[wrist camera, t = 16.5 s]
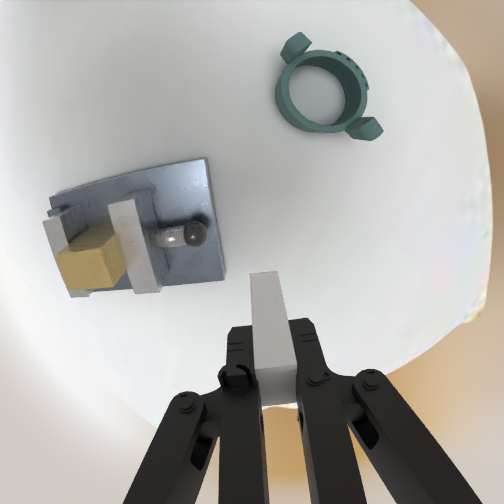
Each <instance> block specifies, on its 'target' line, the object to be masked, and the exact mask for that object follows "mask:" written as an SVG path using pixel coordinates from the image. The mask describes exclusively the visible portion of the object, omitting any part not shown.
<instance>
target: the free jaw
mask: <svg viewBox="0 0 504 504" xmlns="http://www.w3.org/2000/svg"><path fill="white" fill-rule="evenodd" d="M108 209H109V213H110V217H111V221H112V225H113V228H114V232H115V235H116V239H117V242H118V245H119V249H120V252H121V255H122V258H123V261H124V264H125V267H126V270H127V273H128V276H129V279H130V282H131V285H132V287H133V290H134V293H135V294H143V293H156V292H160V291H161V288H162V286H163V284H164V282H165V280H166V278H167V276H168V273H169V268H168V264H167V260H166V257H165V253H164V249H163V248H169V247H177V246H185V245H188V246H190V247H198V246H201V245H202V244H203V243H204V242H205V241H206V238H207V230H206V228H205V226H204V225H203V224H202V223H200V222H197V221H192V222H189V223H187V224H186V225H184V226H177V227H171V228H164V229H158V225H157V220H156V216H155V212H154V207H153V203H152V198H151V193H150V189H145V190H140V191H136V192H131V193H126V194H124V195H122V196H121V197H119V198H118V199H116V200H114V201H113V202H111V203H110V204H108Z"/></svg>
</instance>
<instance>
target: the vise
mask: <svg viewBox="0 0 504 504" xmlns="http://www.w3.org/2000/svg"><path fill="white" fill-rule="evenodd" d="M145 189H150V193H151V198H152V203H153V207H154V212H155V216H156V220H157V225H158V229H164V228H171V227H177V226H184V225H186V224H187V223H189V222H192V221H197V222H200V223H202V224H203V225H204V226H205V228H206V230H207V238H206V241H205V242H204V243H203V244H202V245H201V246H198V247H190V246H188V245H185V246H177V247H169V248H163V249H164V253H165V257H166V260H167V264H168V268H169V273H168V276H167V278H166V280H165V282H164V284H163V286H171V285H181V284H192V283H202V282H212V281H222V280H225V266H224V261H223V255H222V249H221V244H220V238H219V232H218V226H217V220H216V214H215V208H214V202H213V195H212V189H211V183H210V176H209V170H208V163H207V158H202V159H196V160H190V161H185V162H179V163H174V164H169V165H164V166H159V167H154V168H149V169H145V170H140V171H136V172H132V173H128V174H124V175H120V176H116V177H112V178H108V179H104V180H101V181H97V182H93V183H90V184H87V185H83V186H80V187H77V188H73V189H70V190H67V191H64V192H61V193H58V194H56V195H53V196H51V197H49V200H50V204H51V207H52V209H50V210H49V211H47V213H48V216H49V218H47V219H46V220H44V221H42V222H43V225H44V228H45V231H46V235H47V238H48V241H49V244H50V247H51V249H52V252H53V255H54V258H55V255H56V254H57V253H58V252H60V251H61V250H62V249H63V248H64V247H66V246H67V245H68V244H69V243H71V242H72V241H73V240H74V239H76V238H77V237H78V236H79V235H81V234H82V233H83V232H84V231H86V230H87V229H88V228H90V227H92V226H97V225H102V224H107V223H112V221H111V217H110V213H109V209H108V204H110V203H111V202H113V201H114V200H116V199H118V198H119V197H121V196H122V195H124V194H126V193H131V192H136V191H140V190H145ZM55 260H56V258H55ZM56 263H57V261H56ZM57 266H58V263H57ZM58 268H59V266H58ZM59 271H60V268H59ZM60 273H61V271H60ZM61 276H62V273H61ZM62 278H63V276H62ZM63 281H64V278H63ZM64 283H65V281H64ZM65 285H66V283H65ZM66 288H67V285H66ZM123 289H133V287H132V285H131V282H130V279H129V276H128V273H127V270H126V271H125V272H124V274H123V275H122V276H121V278H120V279H119V281H118V282H117V283H116V285H115V286H114V287H110V288H97V289H83V290H68V288H67V290H68V292H69V294H70V297H71V298H73V297H89V295H90V294H91V293H92V292H96V291H110V290H123Z"/></svg>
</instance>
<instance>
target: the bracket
mask: <svg viewBox="0 0 504 504" xmlns="http://www.w3.org/2000/svg"><path fill="white" fill-rule="evenodd" d="M311 43H312V42H311V41H310V40H309V39H308V38H307V37H306V36H305V35H304V34H303V33H302V32H299V33H297V34H295V35H294V36H292V37H291V38H290V39H288V40H287V41H286V43H285V45H284V47H283V49H282V51H281V54H280V56H281V57H282V58H283V59H284V61H285V62H286V63H287V64H288V66H287V67H286V68H285V70H284V71H283V73H282V75H281V76H280V78H279V79H278V81H277V84H276V88H275V100H276V104H277V107H278V109H279V111H280V112H281V114H282V116H283V117H284V118H285V119H286V120H287V121H288V122H289V123H290V124H292V125H293V126H295V127H297V128H298V129H301V130H304V131H308V132H324V133H334V132H340V131H343V130H345V131H346V132H347V133H348V134H349V135H350V136H351V137H352V138H353V139H359V140H367V141H372V140H374V139H376V138H377V137H379V136H380V135H381V134H382V133H383V129H382V127H381V126H380V125H379V123H378V122H377V120H376V119H375V117H361V116H362V115H363V113H364V111H365V108H366V104H367V90H368V89H369V86H368V83H367V80H366V77H365V75H364V73H363V72H362V70H361V69H360V67H359V66H358V65H357V64H356V63H355V62H354V61H353V60H352V59H351V58H349V57H348V56H347V55H345V54H343V53H341V52H339V51H336V52H330V51H325V50H313V51H308V52H305V51H306V49H307V48H308V47H309V46H310V44H311ZM304 52H305V53H304ZM302 65H315V66H320V67H322V68H325V69H327V70H328V71H330V72H331V73H332V74H334V75H335V76H336V77H337V78H338V80H339V81H340V82H341V84H342V86H343V88H344V91H345V96H346V105H345V109H344V112H343V114H342V116H341V117H340V118H339V120H338V121H337V122H335V123H334V124H333V125H331V126H324V125H319V124H316V123H313V122H312V121H310V120H308V119H306V118H305V117H304V116H303V115H301V114H300V113H299V111H298V110H297V109H296V108H295V106H294V105H293V103H292V101H291V98H290V95H289V90H288V85H289V78H290V75H291V73H292V71H293V69H294V68H295V67H298V66H302Z"/></svg>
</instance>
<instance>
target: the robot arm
mask: <svg viewBox="0 0 504 504" xmlns="http://www.w3.org/2000/svg"><path fill="white" fill-rule="evenodd" d="M250 288H251V308H252V325H249V326H239V327H232V329H231V330H230V332H229V334H228V337H227V357H226V365H225V366H223V367H222V368H221V370H220V371H219V373H218V379H219V382H220V385H221V386H220V387H219V388H218V389H217V390H215V391H213V392H210V393H207V394H204V395H199V394H197V393H195V392H189V391H186V392H182V393H179V394H178V395H176V396H175V397H174V398H173V399H172V401H171V402H170V404H169V406H168V408H167V411H166V413H165V415H164V417H163V419H162V421H161V423H160V425H159V427H158V429H157V432H156V434H155V436H154V438H153V440H152V442H151V444H150V446H149V448H148V451H147V453H146V455H145V457H144V459H143V461H142V463H141V465H140V468H139V470H138V472H137V474H136V476H135V478H134V481H133V482H132V485H131V487H130V489H129V491H128V493H127V495H126V498H125V500H124V502H123V504H195V502H196V499H197V496H198V494H199V491H200V488H201V485H202V482H203V479H204V476H205V474H206V471H207V468H208V465H209V462H210V459H211V456H212V453H213V450H214V447H215V444H216V441H217V438H218V437H219V436H220V454H219V499H218V502H219V503H218V504H270V503H269V490H268V477H267V463H266V450H265V436H264V424H263V415H262V406H271V405H280V404H288V403H295V402H297V405H298V421H299V424H300V430H301V437H302V443H303V450H304V456H305V463H306V470H307V477H308V484H309V491H310V497H311V504H367V502H366V497H365V493H364V489H363V484H362V481H361V476H360V472H359V468H358V464H357V460H356V456H355V452H354V448H353V444H352V440H351V437H350V433H349V429H348V426H349V427H350V429H351V430H352V432H353V434H354V435H355V437H356V439H357V440H358V442H359V444H360V445H361V447H362V448H363V450H364V452H365V453H366V455H367V457H368V458H369V460H370V462H371V463H372V465H373V466H374V468H375V470H376V471H377V473H378V474H379V476H380V478H381V479H382V481H383V482H384V484H385V486H386V487H387V489H388V490H389V492H390V494H391V495H392V497H393V498H394V500H395V502H396V503H397V504H482V502H481V501H480V499H479V498H478V496H477V495H476V494H475V493H474V491H473V489H472V488H471V487H470V485H469V484H468V483H467V481H466V480H465V478H464V477H463V476H462V474H461V473H460V472H459V470H458V469H457V468H456V466H455V465H454V464H453V462H452V461H451V459H450V458H449V457H448V455H447V454H446V453H445V451H444V450H443V449H442V447H441V446H440V445H439V443H437V441H436V440H435V438H434V437H433V436H432V434H431V433H430V432H429V430H428V429H427V428H426V427H425V425H424V424H423V423H422V421H421V420H420V419H419V418H418V416H417V415H416V414H415V413H414V411H413V410H412V409H411V407H410V406H409V405H408V404H407V402H406V401H405V400H404V399H403V397H402V396H401V395H400V394H399V392H398V391H397V390H396V389H395V387H394V386H393V385H392V384H391V382H390V381H389V380H388V379H387V377H386V376H385V375H384V374H383V373H382V372H380V371H378V370H375V369H366V370H362V371H361V372H359V373H358V374H357V375H356V376H343V375H338V374H336V373H334V372H332V371H331V370H330V369H329V368H328V367H327V365H326V362H325V359H324V356H323V352H322V349H321V346H320V342H319V340H318V336H317V334H316V330H315V327H314V324H313V323H312V322H311V321H310V320H309V319H308V318H302V319H294V320H288V318H287V313H286V309H285V304H284V299H283V295H282V290H281V286H280V281H279V277H278V272H277V271H271V272H263V273H254V274H250ZM347 424H348V425H347Z"/></svg>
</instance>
